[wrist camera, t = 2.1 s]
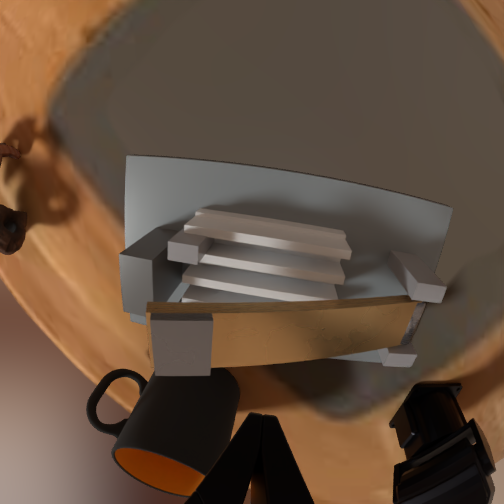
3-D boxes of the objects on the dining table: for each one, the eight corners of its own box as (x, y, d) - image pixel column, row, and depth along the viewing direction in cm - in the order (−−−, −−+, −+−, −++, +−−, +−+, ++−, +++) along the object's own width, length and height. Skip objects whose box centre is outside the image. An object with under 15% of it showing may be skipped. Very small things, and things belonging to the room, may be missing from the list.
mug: (127, 320, 24) (62, 401, 14) (253, 375, 24) (235, 479, 14) (118, 376, 27) (72, 448, 17) (223, 422, 27) (202, 505, 18)
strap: (418, 291, 15) (434, 304, 14) (402, 333, 16) (415, 347, 15) (147, 298, 12) (144, 320, 10) (151, 353, 13) (150, 375, 11)
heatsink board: (446, 205, 17) (494, 229, 12) (393, 356, 22) (412, 407, 16) (133, 154, 19) (80, 162, 13) (135, 314, 23) (101, 358, 18)
